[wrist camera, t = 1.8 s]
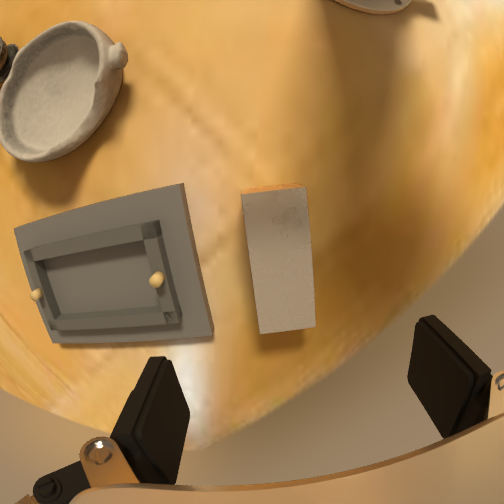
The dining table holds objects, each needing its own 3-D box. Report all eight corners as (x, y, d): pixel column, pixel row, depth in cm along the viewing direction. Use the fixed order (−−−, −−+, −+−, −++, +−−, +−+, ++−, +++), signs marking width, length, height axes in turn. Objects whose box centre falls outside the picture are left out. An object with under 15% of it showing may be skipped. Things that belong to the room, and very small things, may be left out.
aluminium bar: (295, 182, 25) (305, 186, 20) (305, 300, 28) (315, 326, 23) (243, 189, 25) (240, 194, 20) (258, 306, 28) (260, 334, 23)
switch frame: (183, 183, 25) (170, 186, 21) (214, 327, 29) (208, 352, 25) (21, 225, 26) (-2, 234, 22) (58, 337, 30) (41, 355, 25)
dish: (152, 46, 21) (133, 25, 16) (92, 180, 25) (63, 185, 20) (52, 28, 19) (27, 15, 15) (5, 140, 23) (-24, 141, 18)
